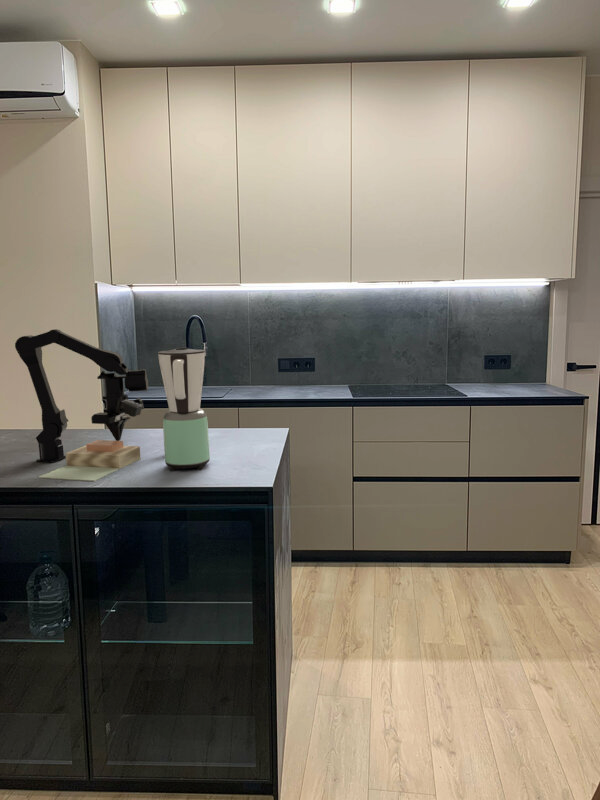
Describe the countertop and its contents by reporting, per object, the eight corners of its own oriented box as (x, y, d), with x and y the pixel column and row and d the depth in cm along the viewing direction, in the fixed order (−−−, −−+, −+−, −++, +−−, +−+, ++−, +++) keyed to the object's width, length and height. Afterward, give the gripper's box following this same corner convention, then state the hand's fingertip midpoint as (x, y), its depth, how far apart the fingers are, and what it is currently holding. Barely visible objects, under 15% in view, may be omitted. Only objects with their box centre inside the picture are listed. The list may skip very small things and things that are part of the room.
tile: (86, 450, 183) (86, 444, 183) (98, 446, 189) (97, 440, 189) (112, 451, 181) (112, 445, 181) (123, 447, 187) (123, 441, 186)
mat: (38, 477, 170) (38, 476, 169) (65, 466, 181) (65, 465, 181) (94, 481, 165) (94, 480, 165) (118, 469, 176) (118, 468, 176)
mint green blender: (168, 460, 186) (161, 346, 180) (211, 457, 187) (206, 345, 181) (160, 477, 167) (152, 351, 162) (208, 474, 168) (202, 349, 163)
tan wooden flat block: (66, 466, 181) (65, 453, 181) (90, 456, 193) (89, 444, 192) (119, 469, 177) (118, 455, 176) (140, 458, 188) (139, 446, 187)
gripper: (121, 397, 178) (124, 448, 181) (152, 388, 196) (155, 435, 199) (88, 396, 181) (92, 447, 184) (121, 388, 199) (125, 434, 202)
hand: (118, 440), depth 192 cm, fingers closed
